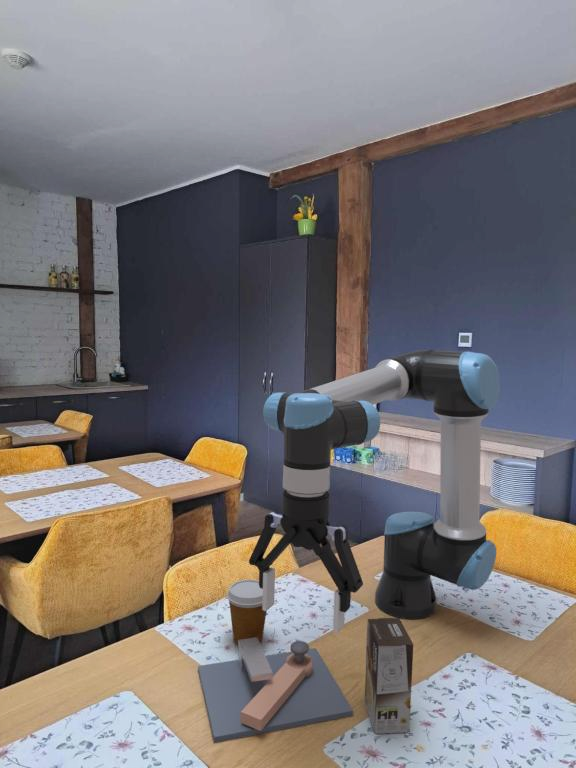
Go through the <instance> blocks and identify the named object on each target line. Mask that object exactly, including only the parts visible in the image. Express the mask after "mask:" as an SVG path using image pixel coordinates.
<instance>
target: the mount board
mask: <svg viewBox="0 0 576 768" xmlns="http://www.w3.org/2000/svg"><path fill="white" fill-rule="evenodd" d="M291 654H294V653H293V652H292V651H286V652H281V653H280V652H279V653H273V654H267V655H266V654H265V656H266V658H267V661H268V663H269V665H270V668H271V670H272V672H273V676H274V675H275V674H276V673H277V672H278V671H279V670H280V668H281V667H282V666H283V665H284V664H285V663H286V659H287V657H288V656H289V655H291ZM306 654H307V655H309V656H310V657H311V658H313V668H312V673H311V675H310V676H308V677H306V678H304V679H303V680H302V681H301V683H300V684H299V685H298V686H297V688H296V689H295V690H294V691H293V692H292V694H291V695H290V696H289V697H288V698H287V700H286V701H285V702H284V703H283V705H282V706H281V707H280V708H279V709H278V711H277V712H276V713H275V714H274V716H273V717H272V718H271V719H270V720H269V722H268V723H267V724H266V725H265V727H264V728H263V729H262V730H261V731H259V730H257V729H255V728H252V727H250V726H248V725H245V724H243V723H241V711H242V710H243V709H244V708H245V707H246V706H247V705H248V703H249V702H250V701H251V700H252V699H253V698H254V697H255V696H256V695H257V694H258V693H259V691H260V690H261V689H262V688H263V687H264V686H265V685H266V684H267V683H268V682H269V680H270V679H267V680H261V681H255V682H251V680H250V677H249V674H248V671H242V672H241V669H240V666H239V663H238V659H234V660H228V661H221V662H216V663H215V662H213V663H207V664H202V665H198V667H197V672H198V675H199V680H200V685H201V689H202V694H203V698H204V704H205V708H206V712H207V717H208V722H209V727H210V730H211V735H212V739H213V743H214V744H215V743H221V742H225V741H230V740H235V739H241V738H246V737H251V736H255V735H260V734H266V733H271V732H276V731H280V730H282V731H283V730H287V729H292V728H297V727H302V726H307V725H312V724H317V723H323V722H327V721H333V720H338V719H344V718H348V717H353V716H354V710H353V708H352V706H351V705H350V702H349V701H348V699H347V698H346V696H345V695H344V693H343V691H342V690H341V688H340V686H339V685H338V683H337V681H336V679H335V678H334V676H333V674H332V673H331V671H330V669H329V668H328V666H327V664H326V662H325V661H324V659H323V657H322V656H321V655H320V652H319V651H318V649H317V648H316V647H312V648H309V651H308V652H307V653H306Z"/></svg>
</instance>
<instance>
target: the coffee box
mask: <svg viewBox="0 0 576 768" xmlns="http://www.w3.org/2000/svg"><path fill="white" fill-rule="evenodd" d="M366 626H367V627H366V649H365V650H366V651H365V652H366V653H365V679H364V680H365V681H364V702H365V703H364V704H365V707H366V710H367V712H368V716H369V719H370V723H371V725H372V729H373V732H374V734H377V735H378V734H397V733H398V734H401V733H402V734H403V733H409V732H410V723H411V722H410V721H411V700H412V683H413V682H412V677H413V659H414V643H413V641H412V639H411V637H410V635H409V634H408V632H407V630H406V628H405V626H404V625H403V622H402V620H401V619H400V617H378V618H368V619H367V624H366Z"/></svg>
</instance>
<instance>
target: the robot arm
mask: <svg viewBox="0 0 576 768" xmlns="http://www.w3.org/2000/svg"><path fill="white" fill-rule="evenodd" d="M500 391H501V381H500V374H499V369H498V366H497V365H496V363H495V362H494V360H493V359H492V358H491V356H489V355H487V354H485V353H479V352H472V351H466V350H465V351H464V350H462V351H458V350H433V349H424V350H423V349H420V350H416V351H415V350H414V351H410V352H407V353H402V354H399V355H395V356H392V357H390V358H389V357H388V358H386V359H383V360H382V361H380V362H379V363H377V364H376V365H375V367H373V368H371V369H367V370H364V371H361V372H358V373H355V374H352V375H349V376H345V377H343V378H339V379H336V380H333V381H331V382H328V383H324V384H321V385H318V386H315V387H311V388H309V389H304V390H302V391H298V392H295V393H293V392H292V393H290V392H287V391H284V392H274V393H272V394H271V395H270V396H268V398H267V399H266V401H265V402H264V406H263V411H262V412H263V414H262V415H263V420H264V423H265V424H266V426H267V427H268V428H269V429H271V430H272V431H273V430H274V431H276V432H279V433H281V434H283V467H282V468H283V469H282V470H283V473H282V488H283V489H284V491H282V498H281V499H282V501H281V502H282V507H281V511H282V515H281V514H279V512H278V511H275V510H274V511H272V512H270V513H268V514H267V515H265V517H264V525H263V529H262V531H261V533H260V536H259V537H258V539H257V542H256V544H255V547H254V548H253V550H252V553H251V555H250V557H249V559H248V564H249V565H250V566H255V567H257V570H258V581H259V587H260V588H262V589H263V603H262V610H264V611H266V612H267V611H268V610H269V609H271V608H272V607H273V606H274V605H275V588H276V587H275V586H276V582H275V581H276V568H275V567H273V566H272V565H273V564H274V562H275V561H276V560H277V559H278V558H279V557H280V555H282V553H283V552H284V551H285V550H286V549H287V547H289V545H290V544H292V546H293V547H295V548H303V549H305V550H308V551H311V550H312V551H313V552H314V554H315V556H317V557H319V559H320V560H321V563H322V565H323V566H324V567H325V569H326V571H327V572H328V574H329V576H330V577H331V579H332V581H333V583H334V584H335V586H336V587H337V589H336V590H335V591H334V593H333V595H334V596H333V598H334V599H333V617H332V619H333V620H332V621H333V623H332V624H333V626H332V633H335V634H339V632H341V630H342V629H343V627H344V626H345V615H346V614H345V613H347V612H348V610H350V607H351V600H352V599H351V598H352V597H351V594H352V593H357V592H358V591H359V590H360V589H361V588H362V586H364V582H363V579H362V576H361V573H360V570H359V568H358V564H357V562H356V560H355V557H354V554H353V551H352V548H351V546H350V543H349V540H348V537H349V536H348V527H347V526H346V525H345V524H342V525H340V526H332V525H330V522H329V515H330V514H329V513H330V493H329V492H328V491H329V490H330V489H331V488H330V485H331V483H330V481H331V455H332V450H337V449H341V448H346V447H352V446H360V445H363V444H364V443H367V442H370V441H372V440H373V439H375V438H376V437H377V435H378V434H379V432H380V428H381V416H380V414H379V411H378V409H377V408H376V406H375V405H376V404H379V403H381V402H385V401H391V402H396V401H400V400H402V399H411V400H413V399H414V400H421V401H427V402H433V413H434V415H435V416H436V417H437V418H438V419H439V420H440V487H439V488H440V489H439V490H440V494H439V495H440V497H439V498H440V500H439V501H440V509H439V513H440V516H439V517H440V518H439V519H437V520H436V521H435V520H434V516H433V515H431V514H430V513H428V512H427V513H426V512H422V511H421V512H420V511H403V512H402V511H401V512H395V513H394V514H391V515H390V516H388V517H387V519H386V521H385V527H384V532H383V535H384V546H383V547H384V548H383V570H382V574H381V576H380V579H379V581H378V584H377V587H376V589H375V594H374V596H375V597H374V602H375V604H376V606H377V608H378V609H380V610H381V611H383V612H384V613H386V614H388V615H389V616H392V617H395V618H399V619H400V618H401V619H406V620H408V619H409V620H417V619H419V620H420V619H425V618H428V617H430V616H432V615H433V614H434V613H435V612H436V611H437V595H436V592H435V588H434V586H433V585H434V584H433V581H432V579H431V578H432V577H434V578H437V579H440V580H443V581H445V582H447V583H451V584H454V585H456V586H457V587H459V588H461V587H462V588H465V589H468V590H471V591H476V590H478V589H480V588H482V587H483V586H484V585H485V584H486V582H487V581H488V579H489V578H490V575H491V574H492V571H493V569H494V566H495V563H496V558H497V547H496V544H495V543H494V542H492V541H491V540H490V539H489V540H488V539H487V528H486V527H485V525H484V524H483V523H482V522H481V521H480V507H481V504H480V503H481V500H480V499H481V498H480V497H481V446H482V445H481V443H482V442H481V441H482V439H481V438H482V421H483V419H485V418H486V417H487V416H488V415H489V410H490V409H492V408H493V407H495V406H496V404H497V402H498V400H499V394H500V393H501V392H500ZM279 526H281V528H282V529H283V532H284V533H285V534H283V536H282V537H281V538H280V539H279V541H278V542H277V544H275V546H274V547H273V548H272V549H271V550H270V552H269V553H267V555H266V556H265V557H264V555H265V553H266V551H267V549H268V547H269V545H270V543H271V540H272V539H273V536H274V534H275V532H276V530H277V527H279ZM328 535H329V536H330V537H331V541H332V542H334V543H333V544H334V547H335V551H336V552H337V553H336V554H337V556H338V557H337V556H336V554H335V552H334V551H333V549H332V545H331V542H330V541H329V539H328V537H327V536H328ZM270 566H271V567H270Z"/></svg>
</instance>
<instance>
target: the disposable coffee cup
mask: <svg viewBox="0 0 576 768" xmlns="http://www.w3.org/2000/svg"><path fill="white" fill-rule="evenodd" d="M226 598H227V599H228V602H229V610H230V618H231V619H230V621H231V627H232V628H231V629H232V636H233V637H232V638H233V643H234V645H236V646H237V647H239V646H238V640H241V639H248V638H255V637H258V640H259V642H260V644H261V645H262V642H263V636H264V630H265V623H266V617H267V611H264V610H262V603H263V589H262V588H260V587H259V580H257V579H243V580H238V581H236V582H235V581H234V582H233V583H232V584H230V586H229V589H228V591H227V592H226Z"/></svg>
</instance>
